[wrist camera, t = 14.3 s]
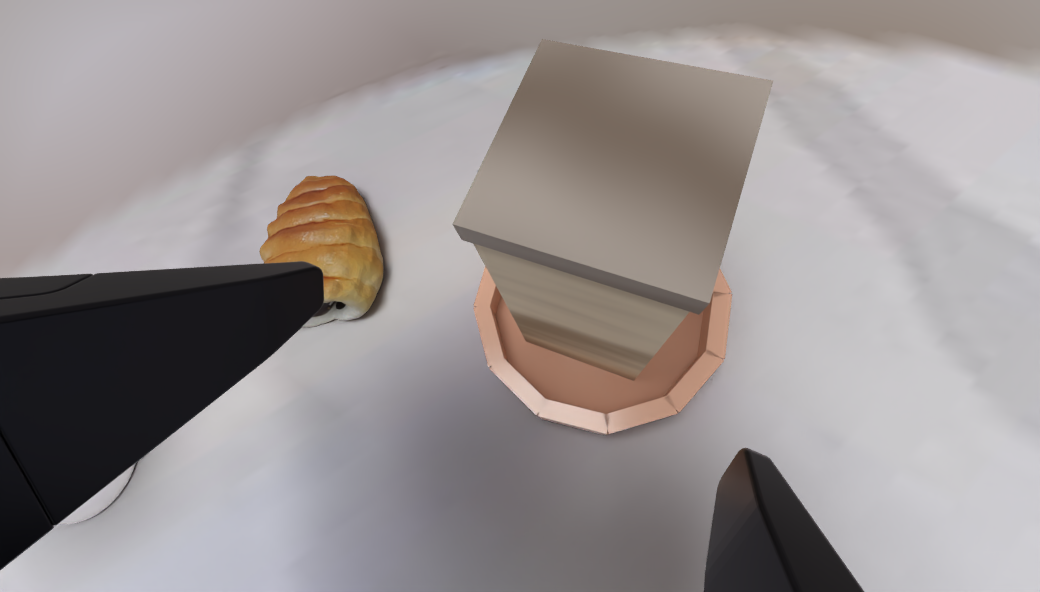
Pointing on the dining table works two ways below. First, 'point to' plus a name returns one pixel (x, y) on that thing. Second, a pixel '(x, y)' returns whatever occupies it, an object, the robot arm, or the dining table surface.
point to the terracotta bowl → (595, 392)
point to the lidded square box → (611, 198)
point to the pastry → (329, 244)
